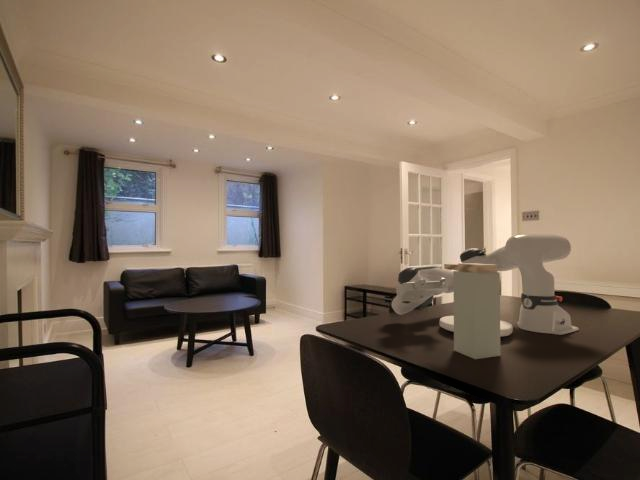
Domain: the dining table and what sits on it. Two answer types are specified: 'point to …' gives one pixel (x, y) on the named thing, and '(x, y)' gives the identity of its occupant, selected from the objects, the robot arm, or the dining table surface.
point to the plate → (448, 324)
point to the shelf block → (477, 314)
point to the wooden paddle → (472, 267)
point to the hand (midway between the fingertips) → (434, 280)
